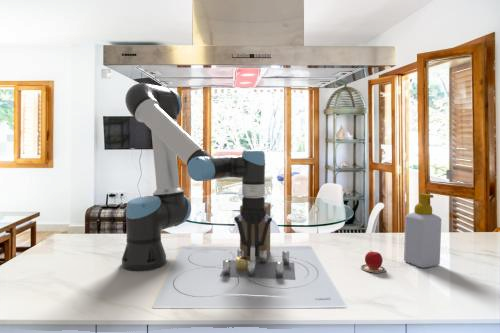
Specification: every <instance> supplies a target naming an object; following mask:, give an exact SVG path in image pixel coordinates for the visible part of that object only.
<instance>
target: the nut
mask: <svg viewBox="0 0 500 333" xmlns="http://www.w3.org/2000/svg"><path fill="white" fill-rule="evenodd" d="M235 260H236V268H237V269H238V270H242V271H246V270H248V261H250V258H249V257H248V256H240V257H237V256H236V258H235Z"/></svg>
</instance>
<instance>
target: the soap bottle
mask: <svg viewBox="0 0 500 333" xmlns="http://www.w3.org/2000/svg"><path fill="white" fill-rule="evenodd" d="M429 198H430V199H432V198H433V199H434V195H433V194H429V193H423V192H422V193H419V202H418V203H417V204H415V206H414V208H413V209H414V212H410V213H408V214H406V215H405V217H404V243H403V244H404V245H403V246H404V250H403V261H404V262H406V263H408V264H410V263H411V264H410V265H414V266H415V267H418V268H421V269H424V268H426V267H427V268H432V267H437V265H438V266H439V265H440V264H441V238H442V218H441V217H440V216H439V215H437V214H434V213H433V207H432V205H430V204H429Z"/></svg>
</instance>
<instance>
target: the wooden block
mask: <svg viewBox="0 0 500 333" xmlns="http://www.w3.org/2000/svg"><path fill="white" fill-rule="evenodd" d="M241 211H242V204H240V207H239V214H241ZM265 212H266V214H267V215H268V216H269V217H271V202H265ZM241 222H242V226H243V230H244V234H245V238H246V241H247V223H246V222H245V220H244V219H243V217H242V220H241ZM265 223H266V222H265V217H264V218H263V220H262V221H261V222H260V223H259V241H261V239H262V235H263V231H264V227H265ZM251 245H255V224H252V232H251ZM239 249H243V250H244V256H248V255H247V246H245V245H242V242H241V238H240V237H239ZM260 250H266V251H267V259H266V261H267V260H268V257H269V255H270V254H271V223H270V224H269V226H268V230H267V234H266V238H265V241H264V245H263V246H259V255H258V256H255V260H259V261H260ZM248 257H249V258H250V256H248Z"/></svg>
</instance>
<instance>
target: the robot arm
mask: <svg viewBox="0 0 500 333" xmlns="http://www.w3.org/2000/svg"><path fill="white" fill-rule="evenodd" d="M124 100H125V106H126V108H127V110H128V111H129V113H130V115H131V116H132V117H133V118H134V119H135V120H136V121H137V122H139V123H143V124H145V126H147V128H149V130H150V131H151V140H152V142H151V143H152V150H153V151H152V152H153V162H154V165H153V166H154V173H155V185H156V186H155V187H156V189H155V191H154V192H153V193H152V195H145V196H139V197H135V198H132V199H131V200H129V201H128V202H127V203H126V208H125V210H126V211H125V219H126V220H125V221H126V222H125V224H126V227H125V228H126V245H125V248H124V252H123V255H122V257H121V267H122V268H123V269H125V270H127V271H134V272H135V271H136V272H138V271H140V272H142V271H150V270H154V269H158V268H161V267H163V266H165V265H166V263H167V255H166V254H167V253H166V251H165V249H164V245H163V243H162V231H163V230H166V229H169V228H173V227H178V226H180V225H181V224H184V223H185V222H186V221H188V219H189V218H190V216H191V212H192V204H191V201H190V199H188V197H187V196H186V195H185V193H184V192H185V191H184V189H182V188H181V186H180V180H179V179H180V178H179V168H178V158H179V159H180V160H181V161H182V162H183V163H184V164H185V165H186V166H187V168H186V169H187V170H186V171H187V173H188V176H189V177H190V179H192V180H193V181H195V182H207V181H212V180H218V179H227V178H237V179H238V178H239V179H241V181H242V185H241V187H242V190H241V193H242V196H243V197H241V198H242V199H241V205H242V211H241V214H240V213H239V214H238V215H235V216H234V217H233V218H234V219H233V220H234V222H235V223H236V225H237V229H238V232H239V233H238V234H239V239H240V238H241V242H242V245H245V246H247V255H248V256H250V260H252V261H256V259H255V256H258V255H259V246H263V245H264V241H265V238H266V234H267V230H268V226H269V224H270V225H271V222H272V221H273V217H272V216H270V217H269V216H268V215H267V214H266V212H265V200H266V199H265V194H266V189H265V188H266V184H265V181H266V180H265V175H266V174H265V173H266V158H265V157H266V154H265V152H264V151H263V150H258V149H250V150H249V149H248V150H247V149H246V150H243V151H242V153H241V155H228V154H227V155H225V154H217V155H210V154H209V153H208V152H207V151H206V150H205V149H204V148H203V147H202V146H201V145H200V144H199V143H198V142H197V141H195V139H194V138H192V137H191V135H189V134H188V133H187V132H186V131H185V130H184V129H183V128H182V127H181V126H180V125H179V124H178V123H177V122H178V116H179V115H180V114H181V112H182V110H183V103H182V102H183V101H182V98H181V97H180V95H179V93H178V92H177V91H176V90H174V89H172V88H169V87H166V86H161V85H156V84H151V83H147V82H139V83H136V84H133V85H132V86H131V87H130V88H129V89H128V90H127V92H126V94H125V99H124ZM177 157H178V158H177ZM242 217H243V219H244V220H245V222H246V223H247V241H246V238H245V234H244V230H243V226H242V222H241V220H242ZM264 217H265V222H266V223H265V227H264V231H263V235H262V239H261V241H259V223H260V222H261V221H262V220H263V218H264ZM252 224H255V245H251V232H252Z"/></svg>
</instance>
